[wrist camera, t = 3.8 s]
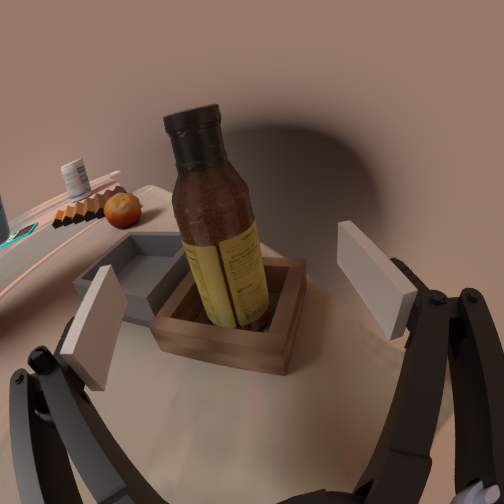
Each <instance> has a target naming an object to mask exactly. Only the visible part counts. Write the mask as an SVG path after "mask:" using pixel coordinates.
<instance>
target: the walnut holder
mask: <svg viewBox="0 0 504 504" xmlns="http://www.w3.org/2000/svg"><path fill="white" fill-rule="evenodd" d="M262 260H263V266H264V272H265V277H266V283H267V288H268V291H270V292H281V295H280V298H279V301H278V305H277V308H276V311H275V314H274V317H273V320H272V323H271V326H270V329H269V332H268V333H262V332H254V331H247V330H240V329H233V328H226V327H220V326H213V325H207V324H201V323H196V322H194V321H195V319H196V317H197V316H198V314H199V312H200V311H201V309H202V307H203V306H204V304H203V302H202V299H201V296H200V293H199V290H198V287H197V284H196V282H195V279H194V276H193V273H192V270H190V271H189V273H188V274H187V275H186V276H185V278H184V279H183V280H182V282H181V283H180V284H179V286H178V287H177V288H176V290H175V291H174V292H173V294H172V295H171V296H170V298H169V299H168V300H167V302H166V303H165V304H164V306H163V307H162V308H161V310H160V311H159V312H158V314H157V315H156V316H155V318H154V319H153V321H152V322H151V323H150V325H149V328H150V330H151V332H152V334H153V336H154V338H155V340H156V341H157V343H158V345H159V347H160V349H161V351H164V352H168V353H172V354H176V355H179V356H183V357H188V358H192V359H196V360H200V361H205V362H209V363H214V364H218V365H223V366H228V367H234V368H239V369H244V370H250V371H256V372H262V373H269V374H276V375H283V376H285V374H286V370H287V366H288V362H289V358H290V354H291V350H292V346H293V342H294V338H295V334H296V330H297V326H298V321H299V317H300V313H301V308H302V304H303V299H304V294H305V290H306V259H289V258H269V257H262Z"/></svg>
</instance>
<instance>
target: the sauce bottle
mask: <svg viewBox="0 0 504 504" xmlns="http://www.w3.org/2000/svg"><path fill="white" fill-rule="evenodd" d="M220 123H221V114H220V111H219V106H218V104H210V105H205V106H201V107H196V108H191V109H186V110H182V111H179V112H175V113H172V114H169V115H166V116H164V125H165V130H166V133H167V134H168V135H169V137H170V139H171V143H172V147H173V151H174V155H175V159H176V168H177V171H178V177H177V181H176V185H175V188H174V192H173V195H172V205H173V210H174V215H175V218H176V220H177V224H178V227H179V230H180V233H181V234H180V237H181V241H182V244H183V247H184V250H185V253H186V256H187V259H188V262H189V264H190V267H191V270H192V273H193V276H194V279H195V282H196V284H197V287H198V290H199V293H200V296H201V299H202V302H203V304H204V307H205V310H206V313H207V316H208V318H209V319H210V320H211V321H212V323H213V325H214V326H220V327H226V328H233V329H240V330H247V331H254V332H256V331H257V330H259V329H261V328H262V327H263V326H264V325H265V324H266V322H267V320H268V317H269V313H270V306H269V294H268V288H267V283H266V277H265V272H264V266H263V260H262V255H261V249H260V243H259V238H258V232H257V227H256V221H255V216H254V214H253V211H252V207H251V202H250V197H249V189H248V186H247V184H246V183H245V181H244V180H243V179H242V178H241V177H240V176H239V174H238V173H237V171H236V170H235V169H234V167H233V166H232V165H231V163H230V162H229V160H228V159H227V153H226V151H225V149H224V143H223V140H222V133H221V127H220Z"/></svg>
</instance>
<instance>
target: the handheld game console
mask: <svg viewBox="0 0 504 504" xmlns="http://www.w3.org/2000/svg"><path fill="white" fill-rule="evenodd" d="M37 225H38V222H37V223H35V224H32V225H30V226H28V227H26V228H24V229H22V230H20V231H18V232H16V233H14V234H12V235H10V236H9V238H8V239H7V241H6V242H4V243H3V244H1V245H0V248H3V247H5V246H6V245H9V244H11V243H13V242H15V241H17V240H19V239H21V238H23V237H25V236H27V235H29V234H31V232H32V231H33V230H34V229H35V227H36V226H37Z"/></svg>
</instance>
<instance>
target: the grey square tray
mask: <svg viewBox="0 0 504 504" xmlns="http://www.w3.org/2000/svg"><path fill="white" fill-rule="evenodd" d="M180 234H181V233H180V232H128V233H127V234H126V235H125V236H124V237H122V238H121V239H120V240H119V241H118V242H116V243H115V244H114V245H113V246H112V247H110V248H109V249H108V250H107V251H106V252H105V253H104V254H102V255H101V256H100V257H99V258H98V259H97V260H96V261H94V262H93V263H92V264H91V265H90V266H89V267H88V268H87V269H86V270H85V271H83V272H82V273H81V274H80V275H79V276H78V277H77V278H76V279H75V280H74V281H73V282H72V284H73V286H74V288H75V290H76V291H77V293H78V295H79V297H80V299H81V301H83V299H84V297H85V295H86V293H87V291H88V289H89V287H90V285H91V283H92V281H93V280H94V278H95V276H96V274H97V272H98V270H99V268H100V267H102V266H107V265H112V268H113V270H114V272H115V275H116V277H117V279H118V281H119V283H120V286H121V288H122V290H123V292H124V294H125V296H126V298H127V300H128V303H127V306H126V309H125V312H124V316H123V319H122V320H123V321H127V322H131V323H134V324H138V325H142V326H146V327H149V325H150V323H151V322H152V321H153V319H154V318H155V316H156V315H157V314H158V312H159V311H160V310H161V308H162V307H163V306H164V304H165V303H166V302H167V300H168V299H169V298H170V296H171V295H172V294H173V292H174V291H175V290H176V288H177V287H178V286H179V284H180V283H181V282H182V280H183V279H184V278H185V276H186V275H187V274H188V273H189V271H190V270H191V267H190V264H189V262H188V259H187V256H186V253H185V250H184V247H183V244H182V241H181V237H180Z"/></svg>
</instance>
